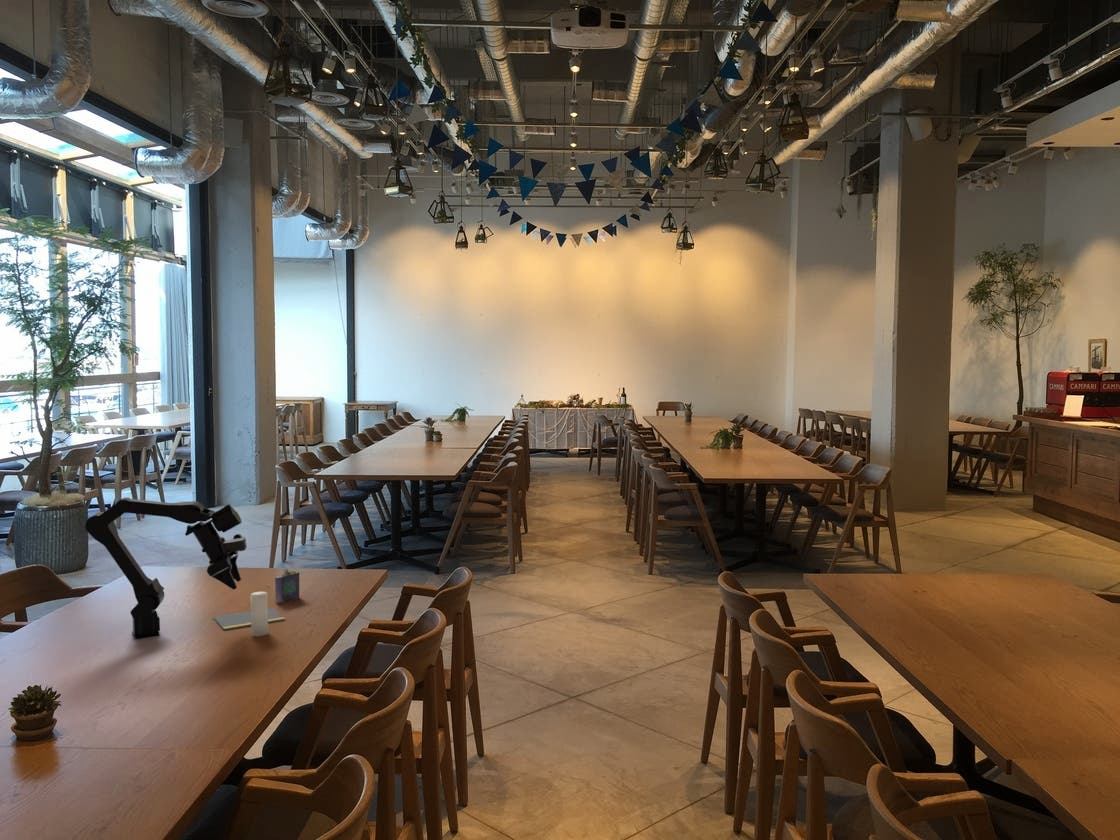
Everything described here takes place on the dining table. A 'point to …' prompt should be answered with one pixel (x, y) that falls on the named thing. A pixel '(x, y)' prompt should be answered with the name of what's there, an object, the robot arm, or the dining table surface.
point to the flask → (287, 587)
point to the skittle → (259, 614)
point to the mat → (244, 619)
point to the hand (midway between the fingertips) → (237, 584)
